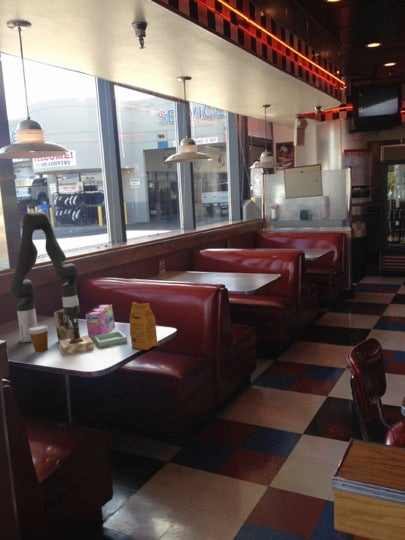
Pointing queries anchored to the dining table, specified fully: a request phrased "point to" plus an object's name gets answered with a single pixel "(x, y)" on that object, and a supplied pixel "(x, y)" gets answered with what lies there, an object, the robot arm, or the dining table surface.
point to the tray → (110, 339)
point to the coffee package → (142, 327)
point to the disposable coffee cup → (39, 338)
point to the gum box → (100, 320)
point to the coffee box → (62, 325)
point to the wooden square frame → (76, 345)
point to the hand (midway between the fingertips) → (75, 336)
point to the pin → (73, 335)
